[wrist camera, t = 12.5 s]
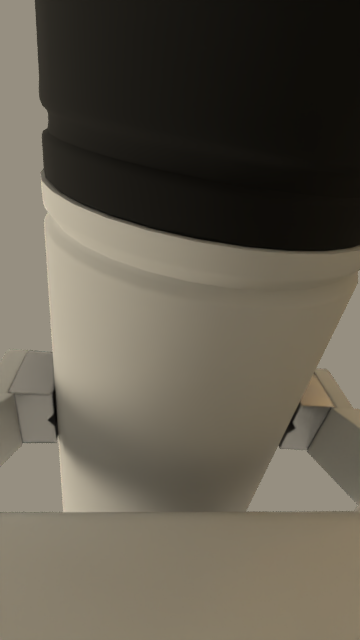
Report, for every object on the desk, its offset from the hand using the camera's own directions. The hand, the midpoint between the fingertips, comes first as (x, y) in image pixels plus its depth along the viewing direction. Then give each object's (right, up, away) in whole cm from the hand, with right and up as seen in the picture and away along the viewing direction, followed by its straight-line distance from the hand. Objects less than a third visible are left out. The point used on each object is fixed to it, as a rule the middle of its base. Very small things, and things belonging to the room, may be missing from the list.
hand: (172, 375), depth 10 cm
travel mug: (-2, -10, +6) cm, 11 cm away
